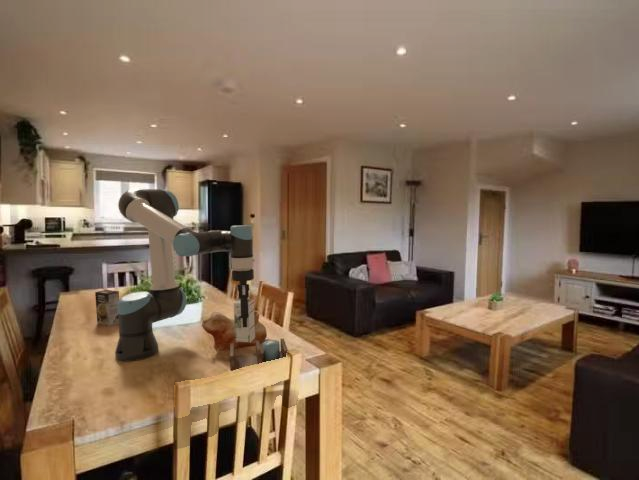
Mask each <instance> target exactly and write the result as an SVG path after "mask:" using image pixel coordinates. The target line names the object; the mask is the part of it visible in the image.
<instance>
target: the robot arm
mask: <svg viewBox="0 0 639 480" xmlns="http://www.w3.org/2000/svg"><path fill="white" fill-rule="evenodd" d="M117 206H118V210H119V212H120V214H121V215H122V216H123V218H125V219H126V220H128V221H130V222H131V223H134V224H137V223H138V224H140V225H141V226H143V227H144V228H146V229H147V232H148V233H147V234H148V242H149V243H148V244H149V245H148V246H149V258H150V264H151V265H150V266H151V267H150V268H151V277H152V285H151V286H150V287H149V288H148V289H149V292H148V291H138V292H132V293H129V294H126V295H124V296H122V297H121V298H119V301H118V309H117V313H118V322H119V323H118V331H119V332H118V333H119V335H118V336H119V338H118V341H117V344H116V347H115V351H114V354H115V359H116V360H118V361H121V362H133V361H134V362H135V361H139V360H140V361H141V360H144V359H147V358H150V357H152V356H154V355H156V354H157V353H158V352H159V343H158V341H157V339H156V336H155V334H154V331H153V324H155V323H156V322H160V321H163V320H166V319H167V320H168V319H171V318H174V317H176V316H179V315H181V314H182V313H183V311H184V310H185V308H186V306H187V296H186V293H185V291H184V289H182V288H180V284H179V283H177V282H176V279H175V278H176V277H175V267H174V266H175V265H174V256H173V251H175V254H176V255H178V257H193V256H197V255H204V254H211V253H218V252H230V253H231V257H230V261H231V269H232V270H231V278H232V281H234V282H239V284H238V285H237V291H238V298H239V299H240V301H241V316H239V318H241V336H249V315H248V300H249V297H250V294H249V293H250V292H249V291H250V284H249V283H248V281H252V280H254V277H255V276H254V274H255V271H254V269H253V268H254V262H255V261H256V259H255V258H254V249H253V248H254V247H253V246H254V244H253V242H254V241H253V238H254V237H253V229H252V226H251V225H248V224H247V225H246V224H244V225H240V224H239V225H237V224H235V225H231V226H230V230H220V229H215V230H208V231H199V232H197V231H194V230H192V229H190V228H189V227H186V226H185V225H183V224H181V223H180V222H178V221H177V220H175V219H174V217H176V216H177V215H178V212H179V210H180V209H179V207H180V206H179V201H178V199H177V197H176V195H175V194H174V193H173V192H172V191H170V190H167V189H161V188H160V189H159V188H158V189H157V188H155V189H153V188H152V189H150V188H132V189H129V190H127V191H125V192H123V194H122V195H120V197H119V199H118V205H117Z"/></svg>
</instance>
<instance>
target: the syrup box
mask: <svg viewBox="0 0 639 480" xmlns="http://www.w3.org/2000/svg"><path fill="white" fill-rule="evenodd" d="M254 311H255V299H248V315H249V336H241V318H239V316H241V301H240V298H239V299H237V300H235V301H234V302H233V318H234V319H233V320H234V324H235V342H243V343H250V342H251V341H252V340H253V339H254V338H255V325H254Z"/></svg>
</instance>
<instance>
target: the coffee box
mask: <svg viewBox="0 0 639 480" xmlns="http://www.w3.org/2000/svg"><path fill="white" fill-rule="evenodd" d="M94 295H95V297H94V298H95V308H96V323H97V324H98V325H103V326H109V327H110V326H113V325H117V324H119V322H118V313H117V309H118V301H119V300H120V291H119V290H110V289H104V290H99V291H95V292H94Z"/></svg>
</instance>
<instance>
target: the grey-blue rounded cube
mask: <svg viewBox="0 0 639 480" xmlns="http://www.w3.org/2000/svg"><path fill="white" fill-rule="evenodd" d="M262 351H263V352H262V353H263V360H264V361H271V360H275V359H279V358H280V351H281V344H280V341H279V340H276V339H267V340H264V341H262Z"/></svg>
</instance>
